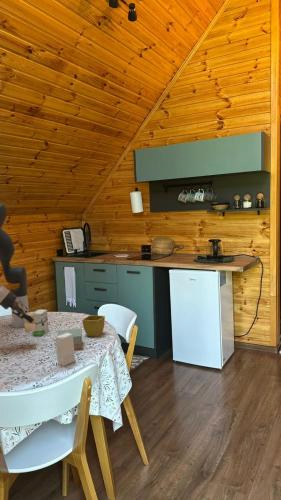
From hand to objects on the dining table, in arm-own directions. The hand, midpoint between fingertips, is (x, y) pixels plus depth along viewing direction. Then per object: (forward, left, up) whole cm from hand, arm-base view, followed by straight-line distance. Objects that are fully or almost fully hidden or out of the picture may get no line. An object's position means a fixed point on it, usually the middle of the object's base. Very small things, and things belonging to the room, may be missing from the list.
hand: (32, 319), depth 179 cm
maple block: (0, -1, -5) cm, 5 cm away
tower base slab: (+6, +17, -13) cm, 22 cm away
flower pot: (-6, +29, -13) cm, 32 cm away
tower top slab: (+7, +17, -10) cm, 20 cm away
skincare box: (+25, +15, -13) cm, 32 cm away
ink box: (-18, +2, -13) cm, 22 cm away
